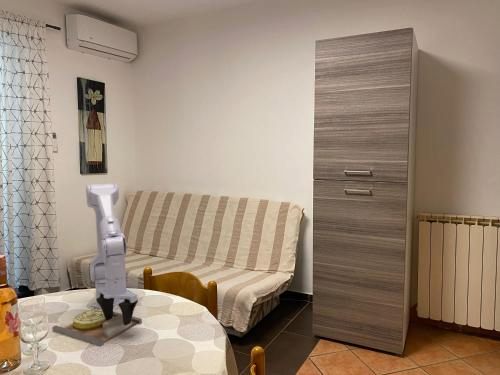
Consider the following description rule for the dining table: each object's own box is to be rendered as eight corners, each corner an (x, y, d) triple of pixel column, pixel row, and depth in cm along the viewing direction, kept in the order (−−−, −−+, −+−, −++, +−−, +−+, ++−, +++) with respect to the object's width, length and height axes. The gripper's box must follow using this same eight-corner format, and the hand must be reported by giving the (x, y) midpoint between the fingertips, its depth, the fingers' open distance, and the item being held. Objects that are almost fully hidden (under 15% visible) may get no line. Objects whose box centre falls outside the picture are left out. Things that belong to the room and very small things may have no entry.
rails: (96, 311, 126) (96, 307, 126) (142, 323, 117) (141, 318, 116) (52, 331, 112) (52, 327, 112) (100, 347, 102) (100, 342, 102)
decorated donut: (117, 320, 119) (117, 309, 119) (92, 335, 109) (91, 323, 109) (92, 315, 123) (92, 304, 123) (66, 329, 113) (65, 317, 113)
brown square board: (61, 330, 113) (60, 315, 112) (97, 313, 124) (96, 300, 124) (102, 343, 104) (101, 327, 104) (136, 324, 116) (136, 310, 115)
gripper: (87, 277, 109) (90, 322, 110) (122, 284, 102) (125, 332, 103) (106, 271, 115) (109, 313, 116) (141, 277, 108) (143, 321, 109)
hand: (118, 321), depth 110 cm, fingers open, 7 cm apart
